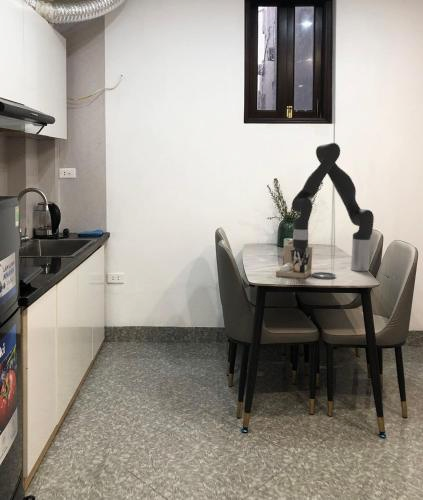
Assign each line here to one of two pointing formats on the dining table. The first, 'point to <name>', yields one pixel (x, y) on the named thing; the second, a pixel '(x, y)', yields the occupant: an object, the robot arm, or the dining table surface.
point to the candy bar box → (287, 242)
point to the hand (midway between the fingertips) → (299, 271)
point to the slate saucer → (324, 275)
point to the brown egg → (297, 267)
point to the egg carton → (289, 259)
